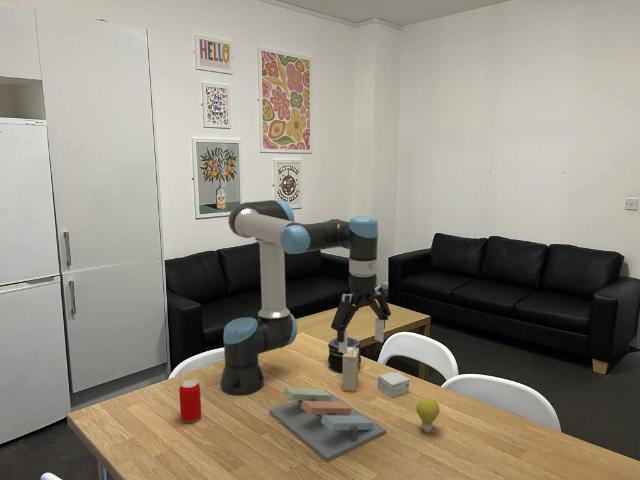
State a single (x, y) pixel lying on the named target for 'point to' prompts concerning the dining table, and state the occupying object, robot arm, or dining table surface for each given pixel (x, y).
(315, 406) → the rocker terracotta
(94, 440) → the dining table surface
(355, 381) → the supplement box
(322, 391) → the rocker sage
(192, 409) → the beverage can
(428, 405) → the light bulb
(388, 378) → the small box
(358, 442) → the board
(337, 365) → the container
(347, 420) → the rocker blue
